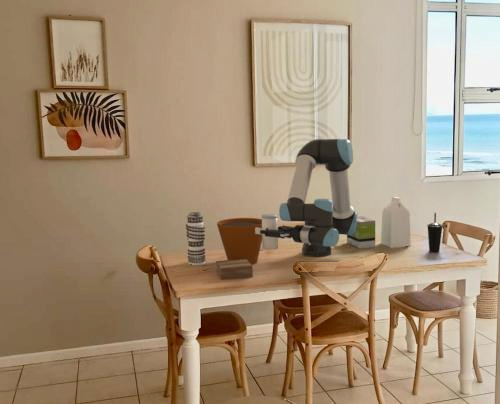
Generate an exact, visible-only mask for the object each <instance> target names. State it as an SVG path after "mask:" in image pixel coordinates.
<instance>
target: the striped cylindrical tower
mask: <svg viewBox="0 0 500 404" xmlns="http://www.w3.org/2000/svg"><path fill="white" fill-rule="evenodd" d="M186 218H187V221H186V224H185V230H186V237H187V238H186V239H187V242H188V245H187V248H188V249H187V255H188V256H187V261H188V263H189V264H188V265H190V264H192V265H191V266H200V265H201V264H202V265H205V264H206V255H205V254H206V251H205V250H206V248H205V243H204V242H205V239H206V238H205V236H206V234H204V233H205V232H206V231H205V230H204V229H206V228H205V226H204V215H203V214H202V212H201V211H200V212H199V211H193V212H192V211H191V212H189V213H188V214H187V215H186Z"/></svg>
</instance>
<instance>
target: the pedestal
mask: <svg viewBox="0 0 500 404" xmlns="http://www.w3.org/2000/svg"><path fill="white" fill-rule="evenodd" d="M215 266H216V273H217V274H218V277H219V279H221V280H234V279H244V278H245V279H246V278H247V279H248V278H253V265H251V264H250V263H249V262H248V260H247V259H237V260H227V259H226V260H216V264H215Z"/></svg>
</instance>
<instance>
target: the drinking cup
mask: <svg viewBox="0 0 500 404" xmlns="http://www.w3.org/2000/svg"><path fill="white" fill-rule="evenodd" d="M436 215H437V213H436V212H434V215H433V216H434V220H433V221H434V222H431V223H429V224H427V225H426V226H427V236H428V251H429V253H434V254H435V253H440V247H441V242H442V241H441V238H442V233H443V227H444V225H443V224H441V223H438V222H437V218H436V217H437V216H436Z"/></svg>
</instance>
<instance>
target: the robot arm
mask: <svg viewBox="0 0 500 404" xmlns="http://www.w3.org/2000/svg"><path fill="white" fill-rule="evenodd" d="M294 161H295V162H294V163H295V170H294V173H293V177H292V181H291V185H290V189H289V192H288V196H287V197H288V198H287V200H286V201H287V202H283V203H280V205H279V209H278V210H279V211H278V213H279V214H278V215H279V218H280V220H281V221H285V222H304V225H303V224H296V225H295V226H289V225H285V224H282V225H279V226H278V230H268V228H266V229H265V228H255V234H261V235H265V236H266V237H277V238H278V239H279V238H280V239H285V238H287V239H292V240H293V241H294V242H295V243H301V244H302V248H301V254H302V255H304V256H305V257H316V258H317V257H327V256H330V255H331V254H332V248H331V247H335V246H337V244H338V243H339V240H340V235H345V236H347V235H348V234H354V233H355V230H356V224H357V217H358V214H359V213H358V212H357V211H355V210H354V207H353V206H352V205H351V197H350V187H349V174H348V173H349V172H348V170H349V169H350V167H351V165H352V164H353V163H354V151H353V144H352V143H351V141H350V140H349V139H347V138H337V139H336V138H333V139H331V138H327V139H325V138H322V139H320V138H319V139H318V138H317V139H312V140H310V141H309V142H307V143H306V144H304V145H303V146H302V148H300V149H299V151H298V153H297V155H296V157H295V160H294ZM316 165H324V167H325V169H326V170H327V171H328V174H329V184H330V192H331V193H330V194H331V199H329V198H316V199H314V202H313V203H306V200H307V195H308V190H309V187H310V182H311V178H312V174H313V170H314V169H315V168H316Z"/></svg>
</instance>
